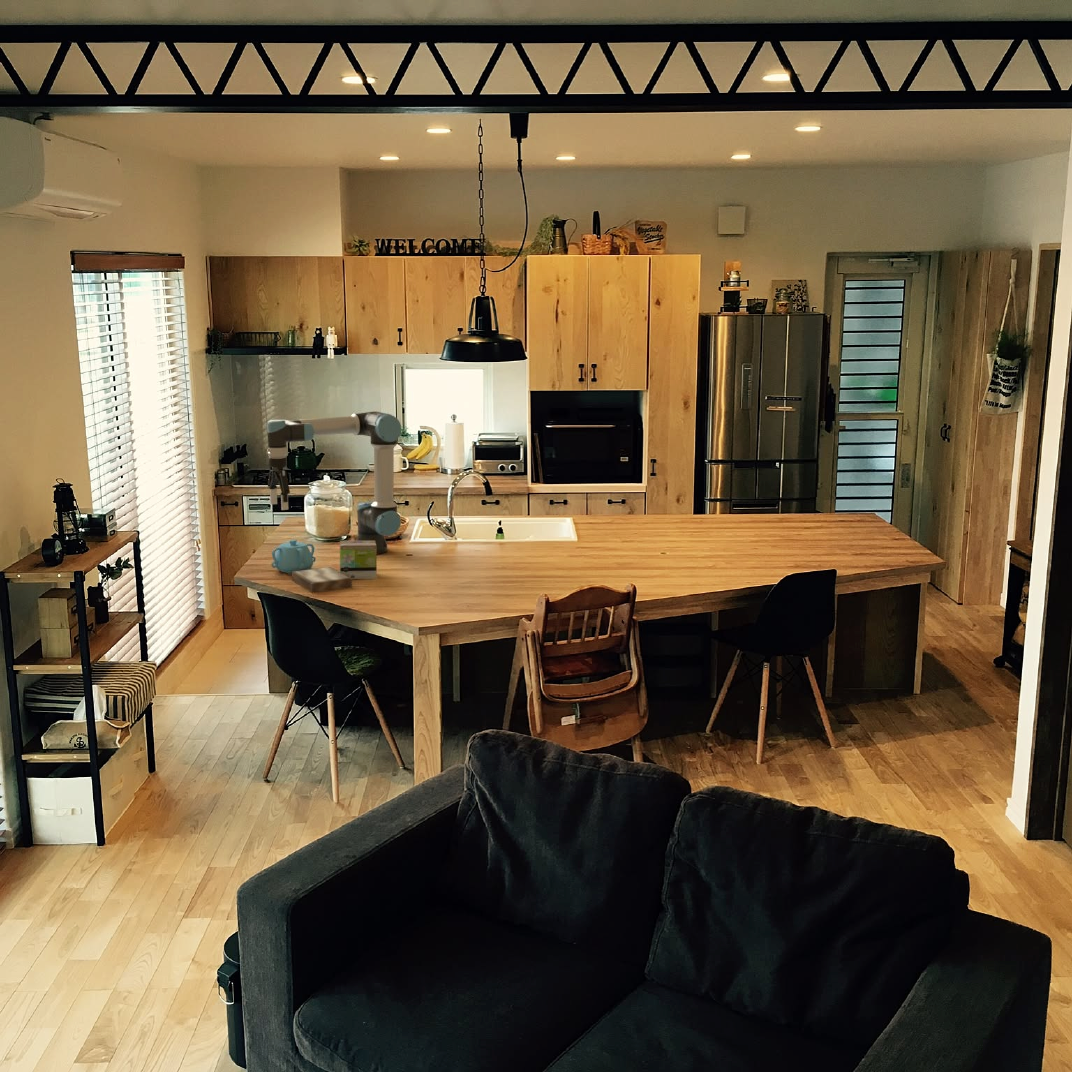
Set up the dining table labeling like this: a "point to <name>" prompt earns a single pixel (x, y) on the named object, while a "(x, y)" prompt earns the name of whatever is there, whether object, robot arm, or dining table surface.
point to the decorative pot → (293, 557)
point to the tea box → (358, 559)
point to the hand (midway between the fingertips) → (279, 507)
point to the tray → (321, 579)
